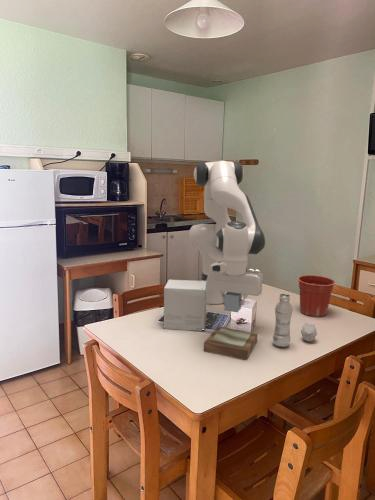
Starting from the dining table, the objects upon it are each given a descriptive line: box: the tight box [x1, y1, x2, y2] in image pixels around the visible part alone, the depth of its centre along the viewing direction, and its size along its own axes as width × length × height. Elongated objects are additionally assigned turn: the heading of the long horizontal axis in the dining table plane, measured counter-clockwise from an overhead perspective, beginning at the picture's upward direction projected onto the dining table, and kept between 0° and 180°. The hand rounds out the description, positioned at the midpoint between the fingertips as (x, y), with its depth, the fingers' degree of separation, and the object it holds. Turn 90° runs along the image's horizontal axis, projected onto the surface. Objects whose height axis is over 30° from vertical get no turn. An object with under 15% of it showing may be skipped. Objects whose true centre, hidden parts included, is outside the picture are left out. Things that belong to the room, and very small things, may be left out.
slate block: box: [223, 292, 243, 313], centre depth 139 cm, size 5×5×6 cm
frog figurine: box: [300, 322, 318, 342], centre depth 148 cm, size 6×7×7 cm
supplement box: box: [163, 279, 207, 332], centre depth 161 cm, size 17×13×18 cm
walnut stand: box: [203, 326, 259, 361], centre depth 142 cm, size 16×16×4 cm
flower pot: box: [297, 274, 336, 318], centre depth 177 cm, size 16×16×16 cm
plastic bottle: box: [272, 293, 294, 348], centre depth 142 cm, size 6×7×20 cm
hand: (233, 303), depth 139 cm, fingers closed on slate block, 5 cm apart
